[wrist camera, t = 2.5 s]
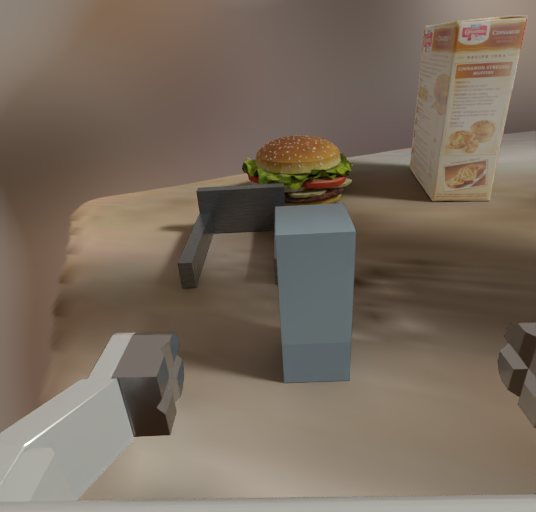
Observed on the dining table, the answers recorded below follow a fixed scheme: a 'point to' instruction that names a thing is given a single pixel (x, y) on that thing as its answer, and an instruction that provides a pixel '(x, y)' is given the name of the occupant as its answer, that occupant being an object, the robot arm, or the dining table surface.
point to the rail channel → (228, 221)
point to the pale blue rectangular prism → (315, 290)
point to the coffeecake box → (464, 105)
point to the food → (301, 169)
